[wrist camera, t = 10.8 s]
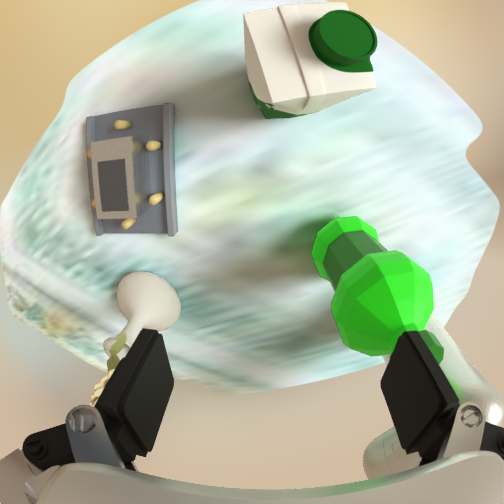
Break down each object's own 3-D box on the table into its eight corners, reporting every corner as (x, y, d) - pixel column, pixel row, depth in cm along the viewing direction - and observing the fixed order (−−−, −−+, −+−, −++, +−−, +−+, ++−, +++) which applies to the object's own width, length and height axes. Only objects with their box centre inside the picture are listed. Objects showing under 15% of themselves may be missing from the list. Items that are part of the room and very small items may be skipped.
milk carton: (326, 113, 32) (400, 92, 13) (260, 127, 33) (265, 111, 14) (308, 55, 28) (358, -16, 10) (242, 67, 29) (227, -4, 11)
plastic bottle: (320, 282, 41) (369, 421, 18) (295, 223, 38) (347, 352, 15) (377, 257, 40) (465, 371, 17) (358, 196, 36) (477, 283, 13)
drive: (152, 206, 36) (136, 218, 31) (115, 208, 36) (96, 219, 31) (148, 135, 32) (131, 136, 27) (111, 140, 32) (90, 142, 27)
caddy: (178, 231, 38) (170, 241, 35) (102, 231, 38) (90, 240, 35) (174, 104, 31) (165, 101, 28) (94, 117, 31) (79, 117, 28)
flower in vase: (163, 333, 46) (119, 452, 23) (112, 298, 43) (41, 404, 21) (201, 287, 42) (159, 428, 19) (142, 245, 39) (48, 358, 16)
